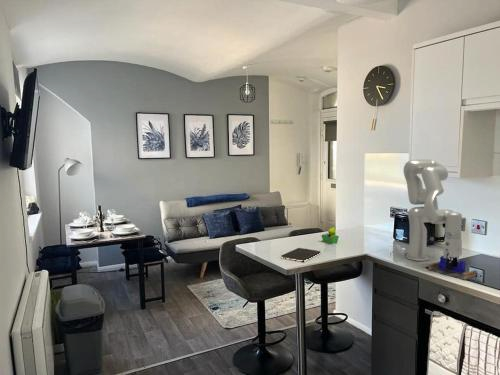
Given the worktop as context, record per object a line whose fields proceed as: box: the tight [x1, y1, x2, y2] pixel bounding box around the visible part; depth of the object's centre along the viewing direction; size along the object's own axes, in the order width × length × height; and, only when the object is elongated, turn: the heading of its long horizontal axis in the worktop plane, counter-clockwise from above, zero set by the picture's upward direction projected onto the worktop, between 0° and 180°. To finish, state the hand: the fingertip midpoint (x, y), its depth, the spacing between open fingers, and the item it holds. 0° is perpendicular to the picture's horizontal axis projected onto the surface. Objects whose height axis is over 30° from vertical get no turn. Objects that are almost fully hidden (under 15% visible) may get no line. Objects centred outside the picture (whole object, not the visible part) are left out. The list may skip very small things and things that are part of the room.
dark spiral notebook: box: [280, 247, 321, 261], centre depth 240 cm, size 16×23×2 cm
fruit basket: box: [321, 226, 340, 245], centre depth 273 cm, size 11×9×11 cm
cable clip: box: [438, 255, 466, 273], centre depth 203 cm, size 12×4×6 cm, turn 33°
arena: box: [427, 261, 478, 281], centre depth 203 cm, size 20×11×3 cm, turn 32°
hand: (451, 268), depth 203 cm, fingers open, 4 cm apart
